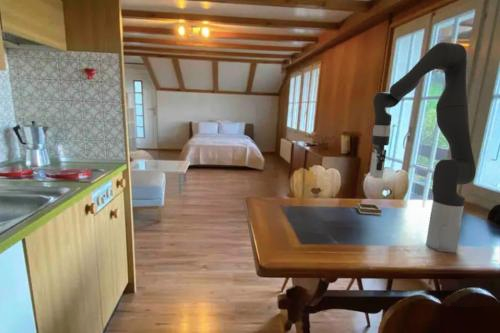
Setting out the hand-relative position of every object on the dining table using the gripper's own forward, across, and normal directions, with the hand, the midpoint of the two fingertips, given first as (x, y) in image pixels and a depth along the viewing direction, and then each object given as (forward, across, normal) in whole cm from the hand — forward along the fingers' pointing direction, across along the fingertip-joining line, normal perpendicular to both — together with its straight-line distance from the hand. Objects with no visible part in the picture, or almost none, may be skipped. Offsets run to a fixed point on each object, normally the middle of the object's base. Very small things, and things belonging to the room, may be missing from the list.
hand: (376, 168), depth 137 cm
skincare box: (+4, 0, 0) cm, 4 cm away
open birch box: (+22, 0, +2) cm, 22 cm away
